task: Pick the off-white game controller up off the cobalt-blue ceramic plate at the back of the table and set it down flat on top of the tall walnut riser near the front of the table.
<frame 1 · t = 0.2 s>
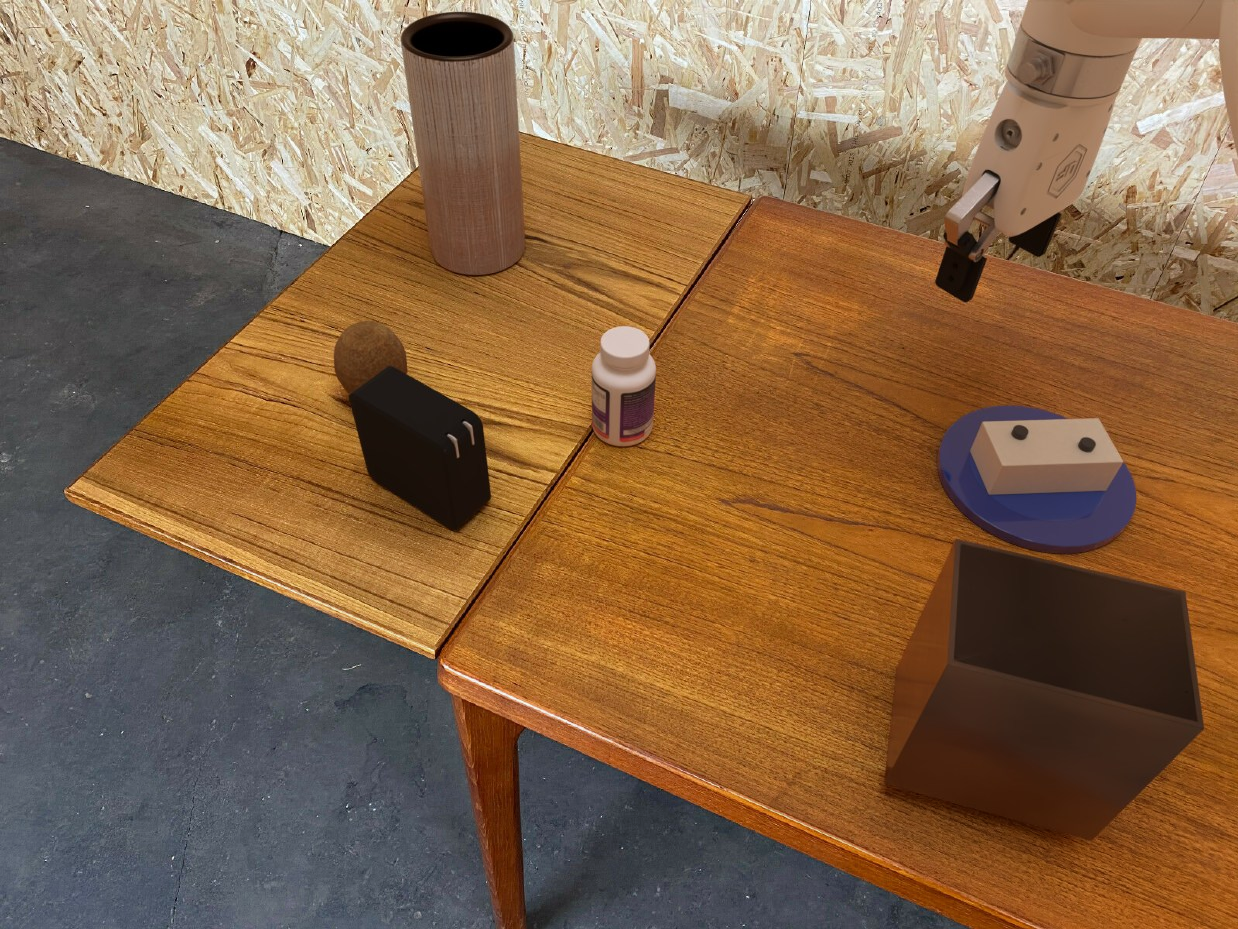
hand: (990, 269, 77), 14 cm above the table, tool pointing down, fingers open, 9 cm apart
pill bottle: (622, 427, 84), on the table
planter: (478, 250, 102), on the table
electronic device: (430, 492, 79), on the table
plate: (1032, 478, 81), on the table
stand: (1070, 626, 53), on the table
controller: (1036, 470, 80), point 1 cm above the table, touching plate
fruit: (378, 398, 86), on the table
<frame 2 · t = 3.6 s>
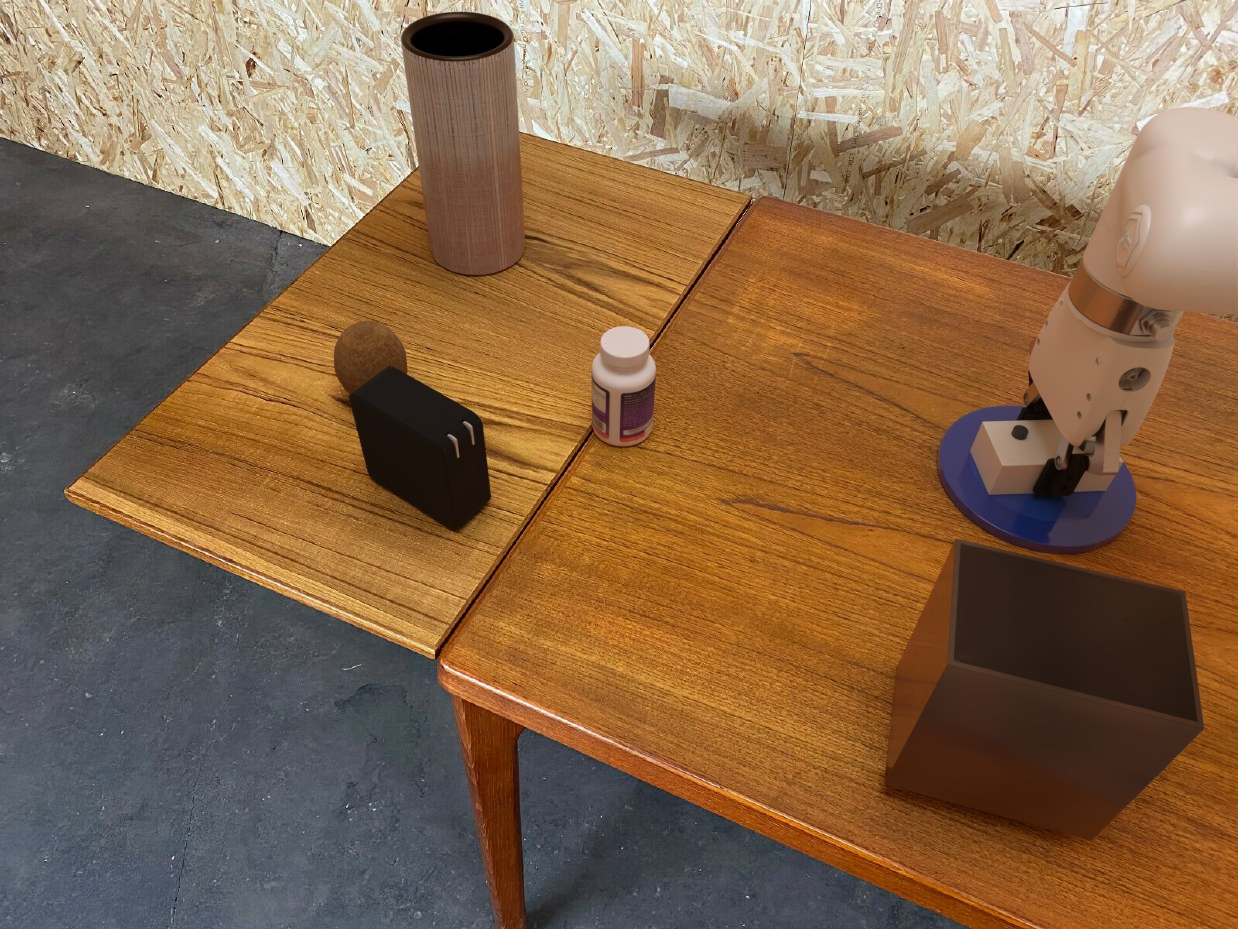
hand: (1039, 465, 80), 2 cm above the table, tool pointing down, fingers closed on controller, 5 cm apart
controller: (1036, 470, 80), point 1 cm above the table, touching gripper, plate
everything else where it was.
when the fingers open (16 cm above the table, at t = 11.2 s): controller stays where it is, resting on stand.
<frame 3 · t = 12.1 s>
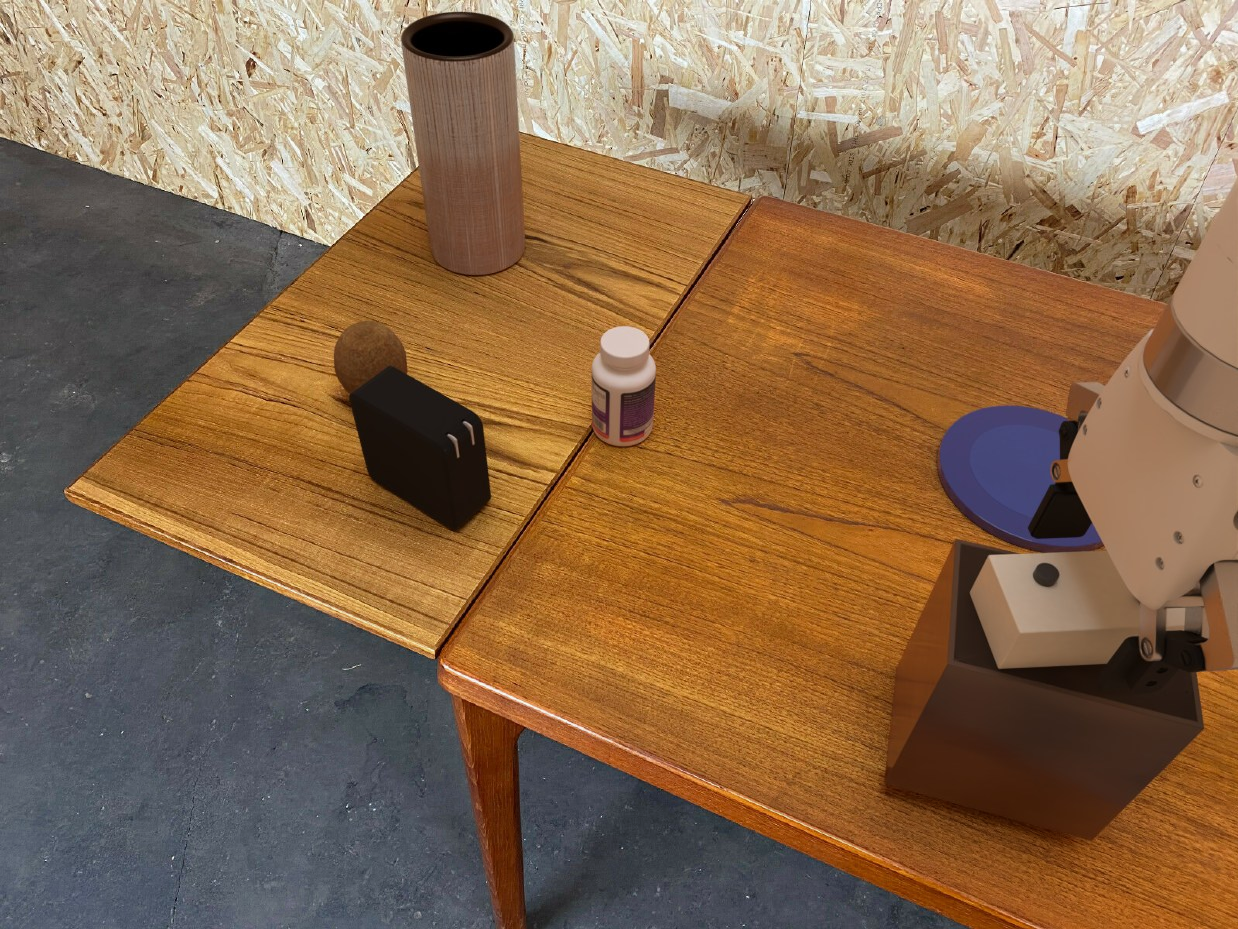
hand: (1088, 604, 51), 17 cm above the table, tool pointing down, fingers open, 9 cm apart
controller: (1070, 626, 53), point 15 cm above the table, touching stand
everything else where it was.
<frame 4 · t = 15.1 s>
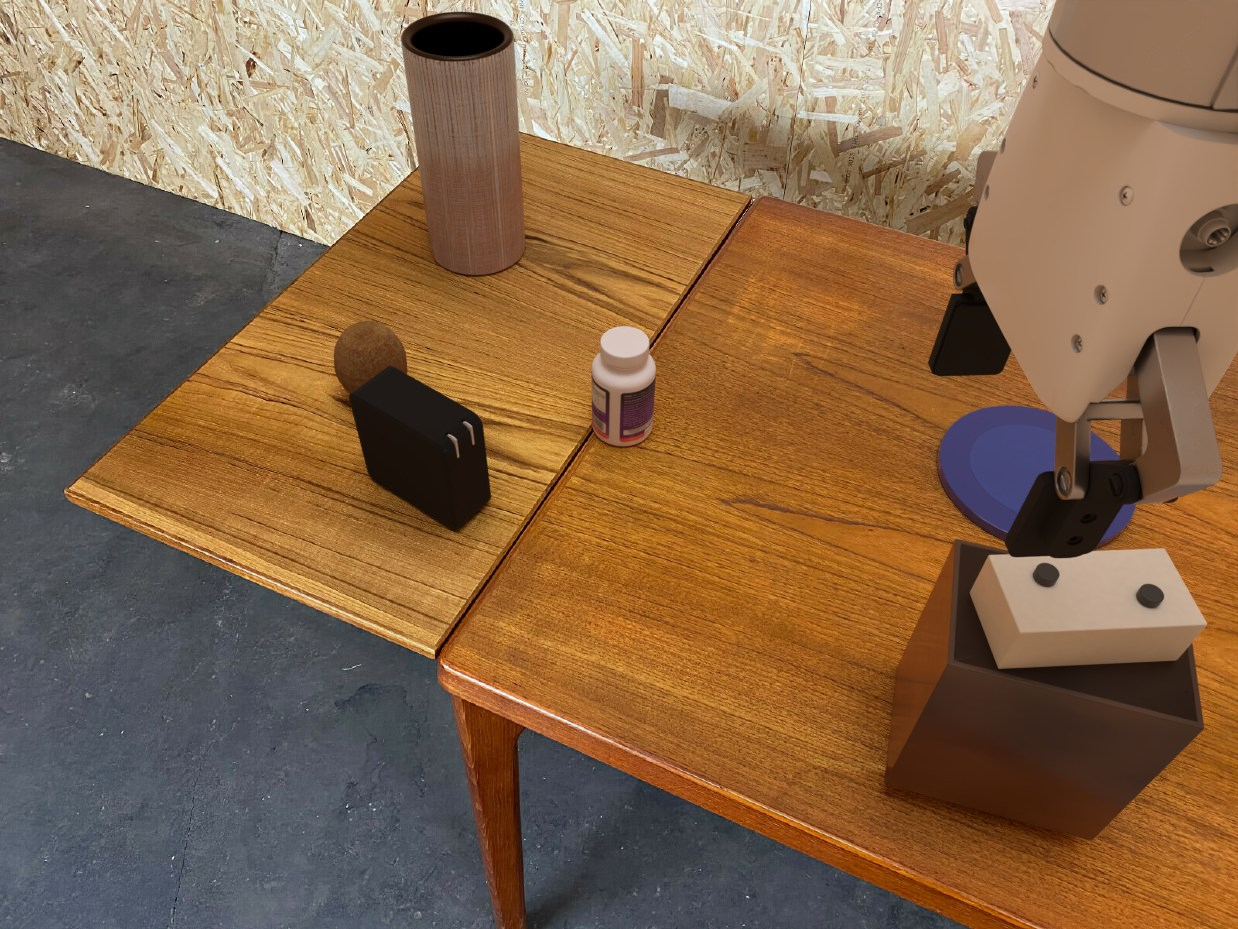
hand: (1001, 452, 38), 32 cm above the table, tool pointing down, fingers open, 9 cm apart
nothing on the table moved.
at the end: controller inside the target area on the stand (0.0 cm from its centre), point 0.0 cm above the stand's base; controller tilted 0°; controller touching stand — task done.
